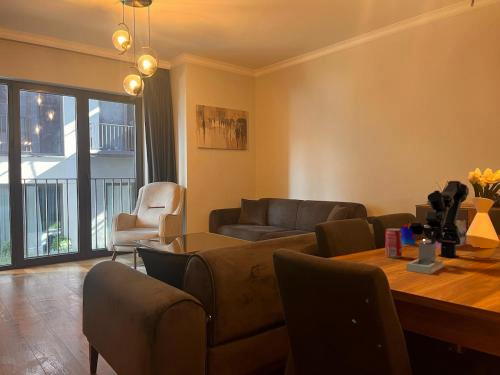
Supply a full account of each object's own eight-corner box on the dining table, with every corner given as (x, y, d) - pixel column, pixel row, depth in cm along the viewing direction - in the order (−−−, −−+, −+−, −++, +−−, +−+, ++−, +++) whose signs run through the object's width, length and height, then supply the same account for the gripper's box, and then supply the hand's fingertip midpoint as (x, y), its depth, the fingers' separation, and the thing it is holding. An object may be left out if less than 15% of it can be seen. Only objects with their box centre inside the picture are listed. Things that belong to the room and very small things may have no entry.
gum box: (454, 242, 220) (454, 218, 219) (468, 244, 213) (468, 220, 213) (427, 246, 208) (428, 221, 207) (441, 249, 201) (442, 222, 200)
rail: (421, 263, 168) (421, 256, 168) (443, 266, 162) (443, 259, 162) (406, 270, 155) (406, 263, 155) (429, 274, 149) (430, 267, 149)
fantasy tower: (392, 244, 216) (392, 222, 216) (409, 242, 220) (409, 221, 220) (406, 247, 205) (406, 225, 205) (424, 246, 209) (425, 224, 208)
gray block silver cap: (422, 261, 163) (422, 238, 163) (435, 263, 160) (435, 239, 160) (418, 263, 160) (418, 239, 159) (431, 265, 156) (431, 240, 156)
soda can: (403, 258, 177) (403, 230, 177) (386, 258, 179) (386, 230, 178) (400, 255, 184) (400, 228, 184) (384, 255, 186) (384, 228, 185)
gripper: (411, 203, 171) (401, 231, 164) (458, 205, 159) (449, 235, 151) (417, 220, 177) (408, 247, 170) (463, 223, 165) (455, 253, 157)
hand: (429, 245), depth 162 cm, fingers closed, pressing on gray block silver cap
